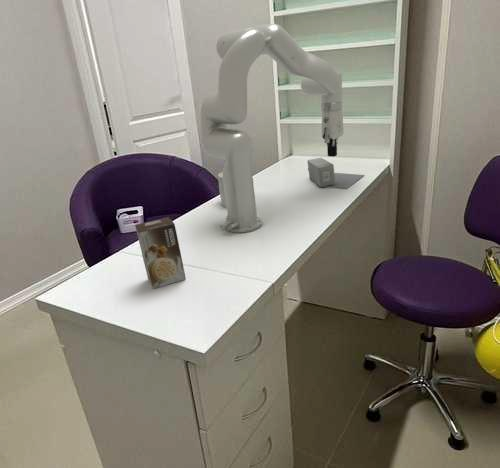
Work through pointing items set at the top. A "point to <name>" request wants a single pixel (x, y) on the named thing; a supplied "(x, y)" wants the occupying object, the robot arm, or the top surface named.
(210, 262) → the top surface
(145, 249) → the coffee box
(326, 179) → the skincare box
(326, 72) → the robot arm
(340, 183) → the mat
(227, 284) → the top surface
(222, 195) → the toilet paper roll
